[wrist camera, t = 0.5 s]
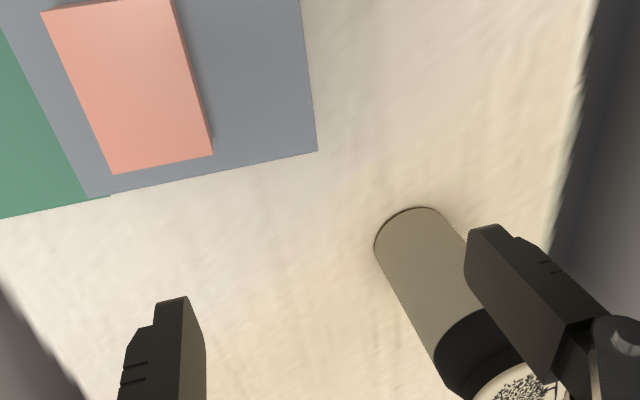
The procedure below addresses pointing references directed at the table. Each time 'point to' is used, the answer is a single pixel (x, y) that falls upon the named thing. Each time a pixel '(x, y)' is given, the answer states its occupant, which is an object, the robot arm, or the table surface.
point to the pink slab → (132, 80)
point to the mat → (29, 148)
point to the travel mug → (452, 311)
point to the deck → (213, 82)
